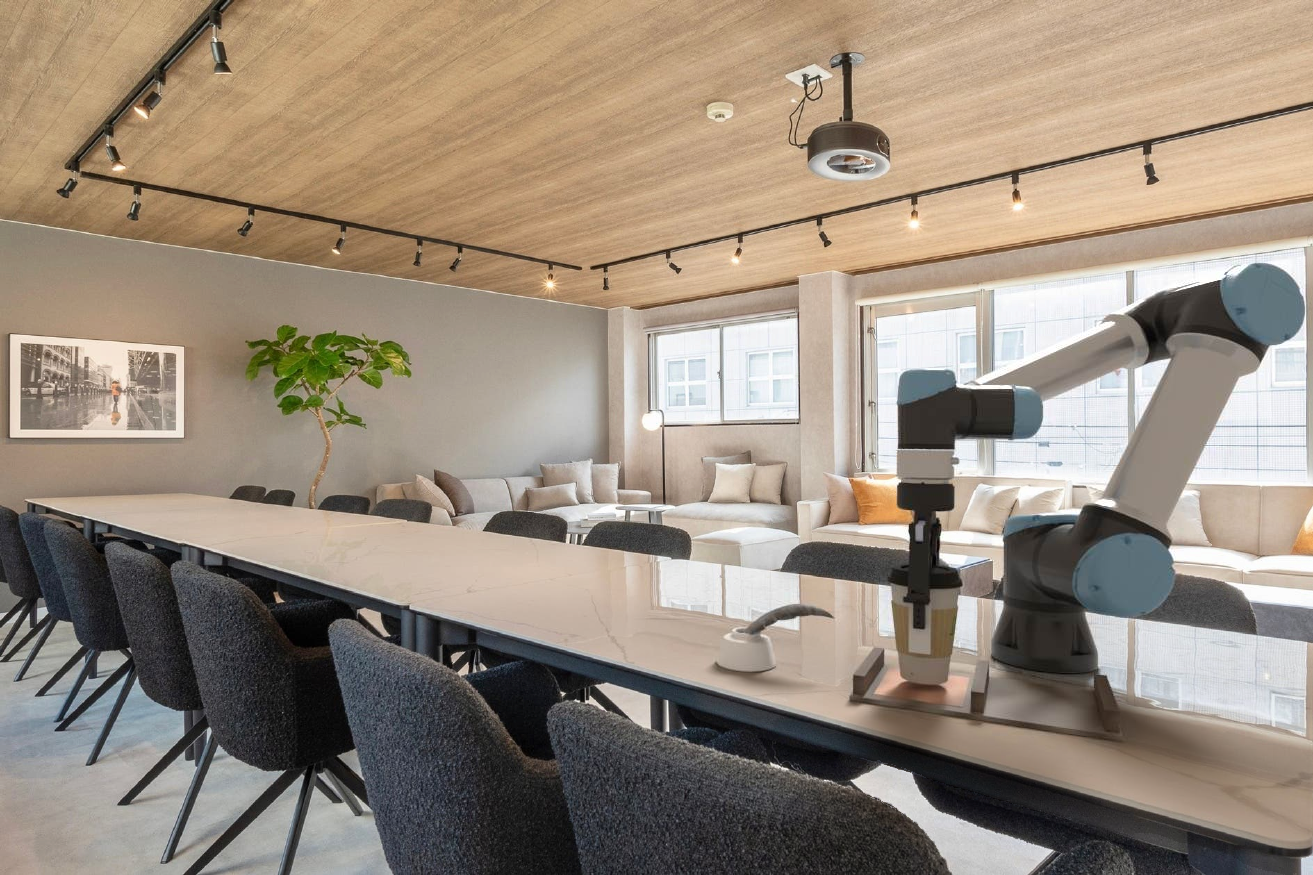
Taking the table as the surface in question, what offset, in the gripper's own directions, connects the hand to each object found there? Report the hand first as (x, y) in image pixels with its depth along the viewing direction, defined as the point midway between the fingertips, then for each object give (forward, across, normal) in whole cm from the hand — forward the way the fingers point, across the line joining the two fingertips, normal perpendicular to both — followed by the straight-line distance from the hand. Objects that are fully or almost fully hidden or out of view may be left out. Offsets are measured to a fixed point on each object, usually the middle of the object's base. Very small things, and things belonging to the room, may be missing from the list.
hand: (924, 643), depth 106 cm
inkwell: (+7, +1, +22) cm, 23 cm away
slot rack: (+6, 0, -7) cm, 10 cm away
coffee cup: (+5, 0, 0) cm, 5 cm away
